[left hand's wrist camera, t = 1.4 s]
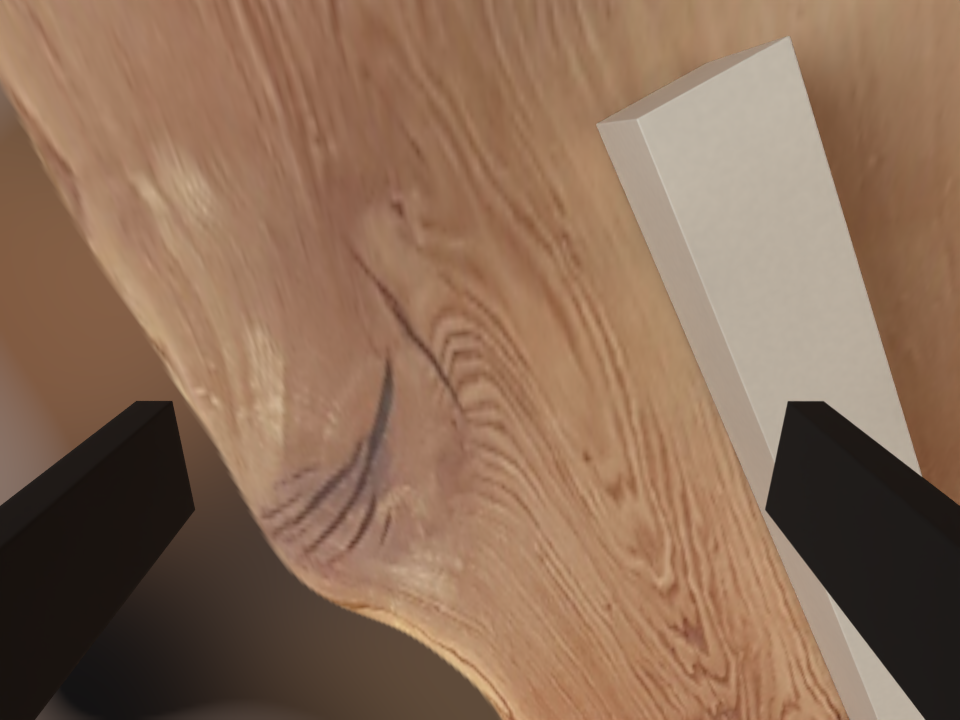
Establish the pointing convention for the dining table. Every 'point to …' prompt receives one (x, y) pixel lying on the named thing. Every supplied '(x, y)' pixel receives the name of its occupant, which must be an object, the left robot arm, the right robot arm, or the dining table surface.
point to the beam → (765, 291)
